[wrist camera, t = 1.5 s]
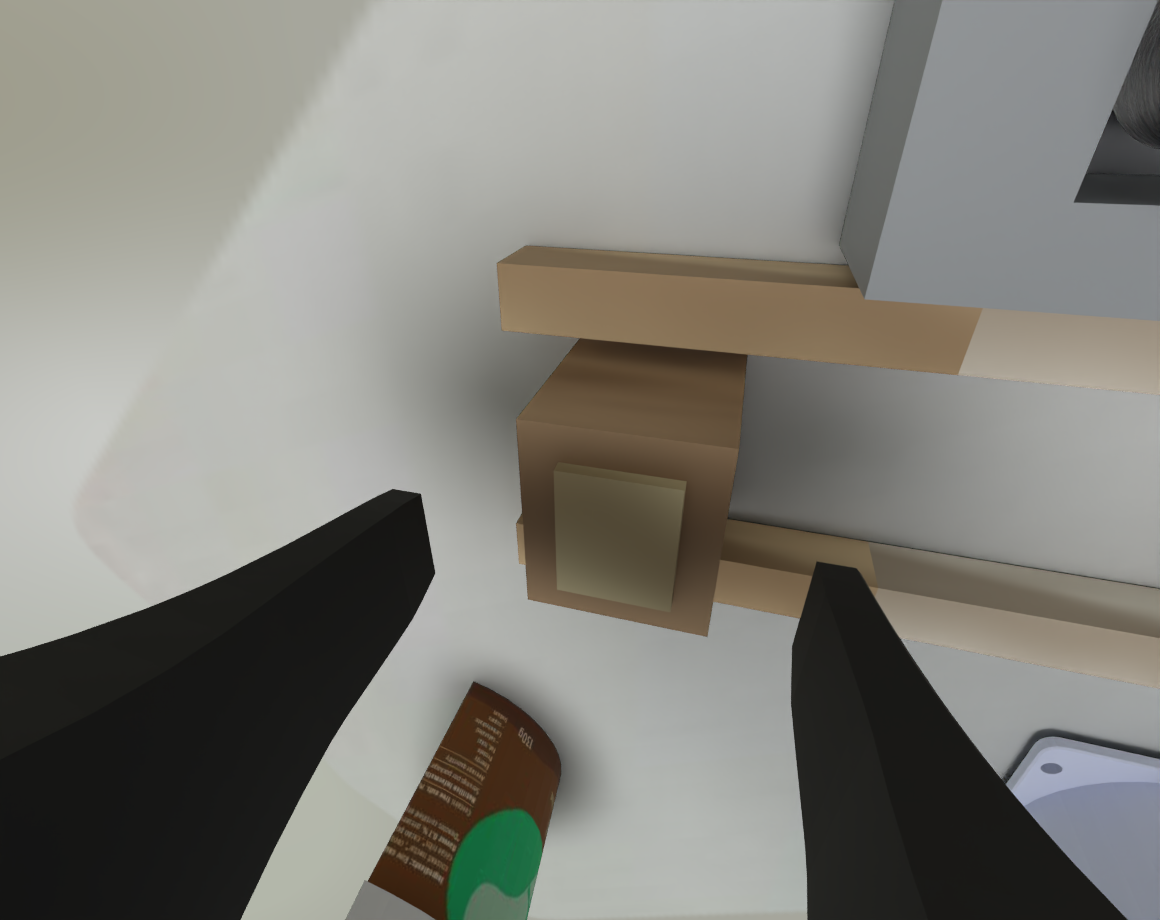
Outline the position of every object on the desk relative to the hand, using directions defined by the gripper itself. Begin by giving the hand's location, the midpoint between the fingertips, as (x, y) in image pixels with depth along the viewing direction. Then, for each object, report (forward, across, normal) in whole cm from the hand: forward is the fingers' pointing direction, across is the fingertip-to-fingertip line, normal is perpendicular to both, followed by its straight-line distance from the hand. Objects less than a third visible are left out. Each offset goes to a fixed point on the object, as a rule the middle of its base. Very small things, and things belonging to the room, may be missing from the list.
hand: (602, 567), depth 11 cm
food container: (+6, +5, +19) cm, 20 cm away
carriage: (+6, 0, 0) cm, 6 cm away
